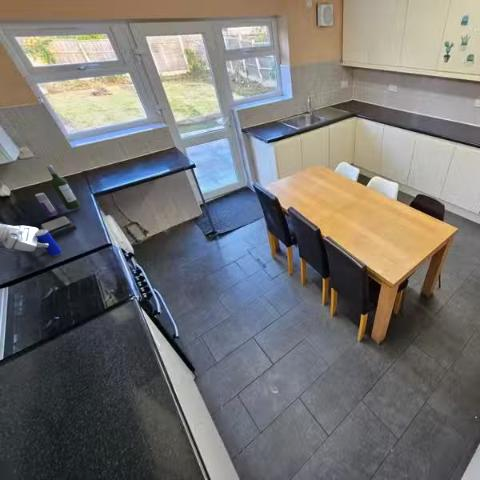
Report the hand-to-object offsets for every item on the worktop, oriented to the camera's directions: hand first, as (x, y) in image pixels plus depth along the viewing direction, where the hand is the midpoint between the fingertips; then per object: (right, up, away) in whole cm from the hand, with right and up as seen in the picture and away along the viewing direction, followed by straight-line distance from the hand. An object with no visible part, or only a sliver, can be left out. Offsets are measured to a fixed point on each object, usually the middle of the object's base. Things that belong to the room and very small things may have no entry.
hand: (48, 242), depth 146 cm
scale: (-17, +8, +24) cm, 30 cm away
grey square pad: (-18, +11, +22) cm, 31 cm away
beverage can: (0, -7, +5) cm, 9 cm away
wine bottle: (-27, +24, +44) cm, 57 cm away
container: (-34, +18, +37) cm, 54 cm away
